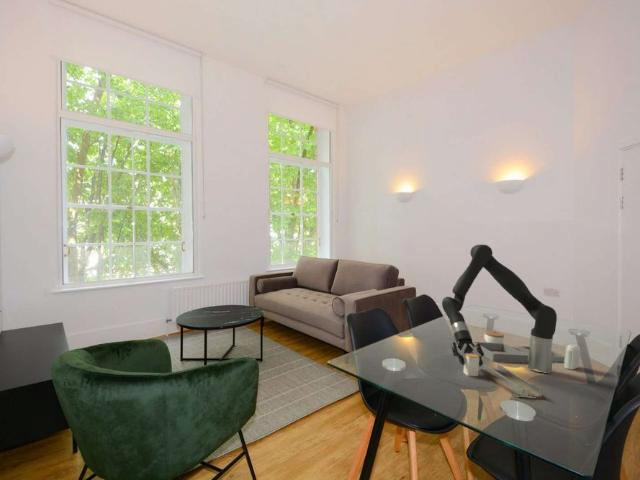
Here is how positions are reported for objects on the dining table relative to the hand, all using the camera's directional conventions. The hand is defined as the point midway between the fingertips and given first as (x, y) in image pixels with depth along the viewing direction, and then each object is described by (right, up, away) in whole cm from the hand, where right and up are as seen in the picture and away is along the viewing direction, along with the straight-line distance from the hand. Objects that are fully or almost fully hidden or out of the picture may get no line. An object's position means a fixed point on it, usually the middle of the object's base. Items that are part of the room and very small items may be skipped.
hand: (472, 365), depth 153 cm
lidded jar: (+37, -8, +52) cm, 65 cm away
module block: (-1, -5, +1) cm, 5 cm away
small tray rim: (+58, -10, +38) cm, 70 cm away
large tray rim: (+30, -7, +33) cm, 45 cm away
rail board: (+13, -6, -7) cm, 16 cm away
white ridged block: (+63, -10, +23) cm, 68 cm away
